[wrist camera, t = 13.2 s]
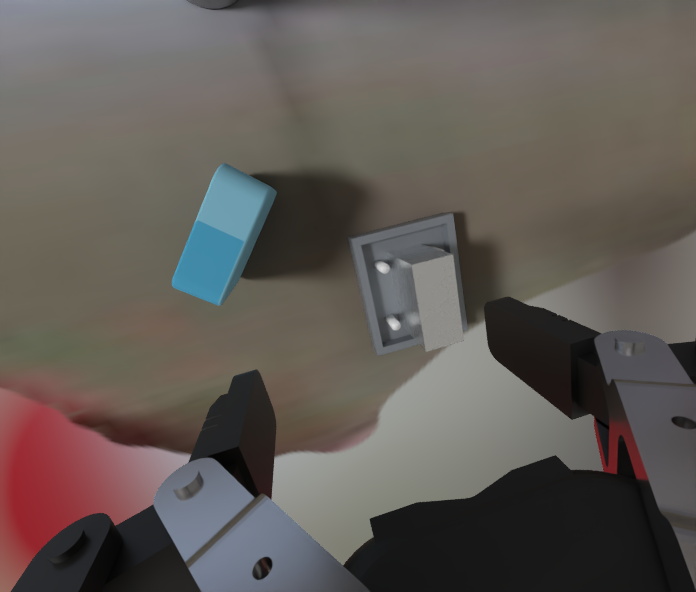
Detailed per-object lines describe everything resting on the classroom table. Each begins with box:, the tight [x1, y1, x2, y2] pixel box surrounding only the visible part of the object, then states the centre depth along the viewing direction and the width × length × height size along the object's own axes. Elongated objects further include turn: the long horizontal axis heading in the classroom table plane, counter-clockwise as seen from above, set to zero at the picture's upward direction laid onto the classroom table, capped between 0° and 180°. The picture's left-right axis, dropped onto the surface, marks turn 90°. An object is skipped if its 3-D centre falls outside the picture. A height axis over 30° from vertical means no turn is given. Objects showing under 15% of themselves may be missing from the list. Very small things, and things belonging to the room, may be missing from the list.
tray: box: [348, 213, 468, 356], centre depth 42 cm, size 16×13×4 cm
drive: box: [387, 244, 464, 352], centre depth 39 cm, size 10×4×9 cm, turn 12°
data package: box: [172, 163, 277, 306], centre depth 34 cm, size 12×4×12 cm, turn 153°
